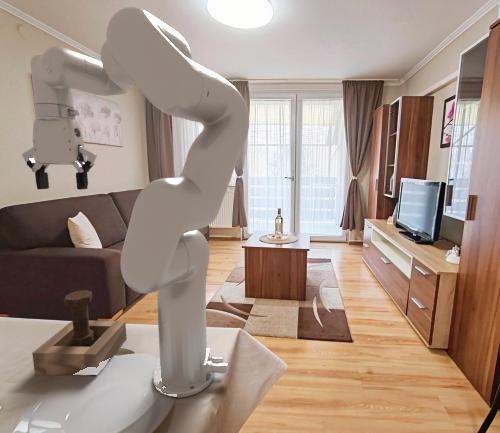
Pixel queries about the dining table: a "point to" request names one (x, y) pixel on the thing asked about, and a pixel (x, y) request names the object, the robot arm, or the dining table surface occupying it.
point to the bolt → (80, 318)
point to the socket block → (79, 349)
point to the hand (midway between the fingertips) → (62, 189)
